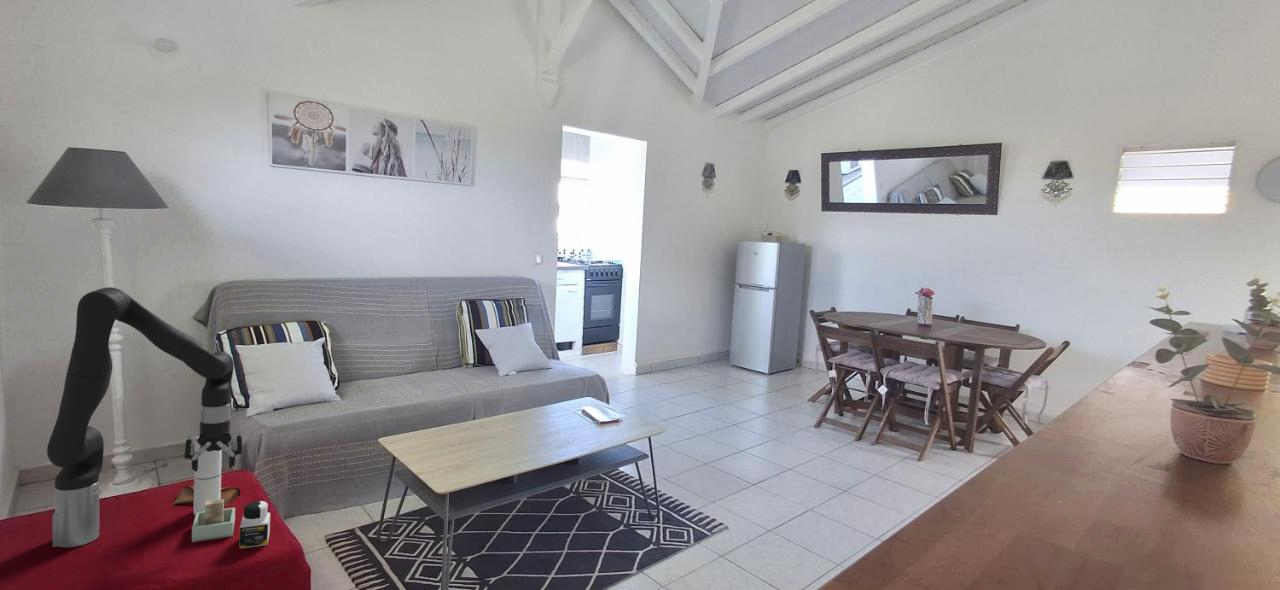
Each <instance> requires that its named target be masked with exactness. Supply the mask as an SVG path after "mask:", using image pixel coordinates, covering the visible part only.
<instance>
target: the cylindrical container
mask: <svg viewBox="0 0 1280 590" xmlns="http://www.w3.org/2000/svg"><path fill="white" fill-rule="evenodd" d="M198 437H199V436H197V437H196V438H198ZM199 447H200V445H199V444H198V442H195V443H194V453H195V452H196V451H197V450H198V449H199ZM222 450H223V449H222ZM222 450H220V451H209V452H208V451H206V450H205V451H204V452H203V453H202V454H201V455H200V456H199V458H198V471H194V470H193V487H194V505H193V511H192V512H193V513H192V514H193V515H194V516H196V513H197V512H204V511H205V504H206V501H212V500H220V499H221V488H222V487H221V486H222V456H223V455H222V453H223V452H222ZM194 453H193V454H194Z"/></svg>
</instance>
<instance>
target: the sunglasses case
mask: <svg viewBox="0 0 1280 590" xmlns="http://www.w3.org/2000/svg"><path fill="white" fill-rule="evenodd" d="M240 496H241V489H240V488H238V487H235V486H234V487H233V486H231V487H230V486H229V487H221V499H224V507H228V506H230V504H231V503H232V501H233V502H234V501H235V500H236V499H237V498H238V497H240ZM189 504H192V505H191V506H194V486H192V485H191V486H190V485H184V486H183V487H182V489H181V490H180V491H179V493H178V495H176V498H175V499H174V500H173V502H172V505H171V506H190V505H189Z"/></svg>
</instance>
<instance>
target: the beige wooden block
mask: <svg viewBox="0 0 1280 590" xmlns="http://www.w3.org/2000/svg"><path fill="white" fill-rule="evenodd" d="M224 509H225V506H224V499H220V500H212V501H206V504H205V525H206V524H209V523H216V522H222V523H223V519H224Z"/></svg>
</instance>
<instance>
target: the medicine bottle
mask: <svg viewBox="0 0 1280 590" xmlns="http://www.w3.org/2000/svg"><path fill="white" fill-rule="evenodd" d="M268 504H269V503H267V502H266V501H263V500H256V501H255V500H254V501H251V502H249V503H247V504H245V505H244V507H243V515H242V519H241V522H240V526H239V547H238V548H239V549H247V548H253V547H254V548H255V547H261V546H267V545H268V542H269V538H270V533H271V531H270V530H271V529H270V528H271V512H268Z"/></svg>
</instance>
